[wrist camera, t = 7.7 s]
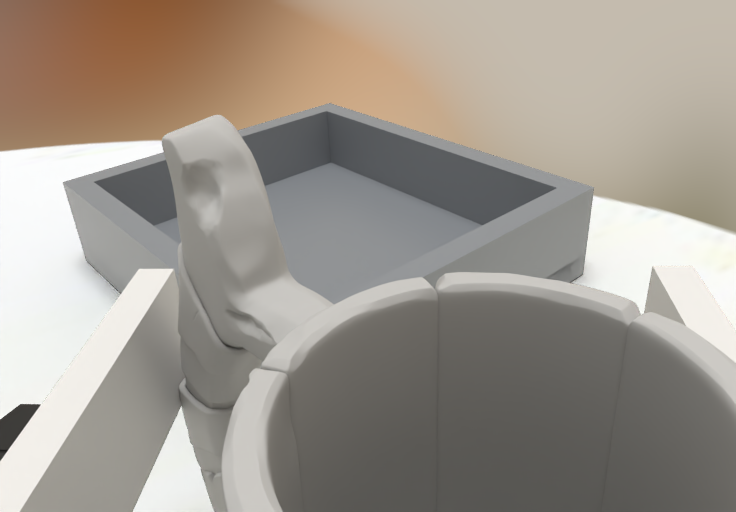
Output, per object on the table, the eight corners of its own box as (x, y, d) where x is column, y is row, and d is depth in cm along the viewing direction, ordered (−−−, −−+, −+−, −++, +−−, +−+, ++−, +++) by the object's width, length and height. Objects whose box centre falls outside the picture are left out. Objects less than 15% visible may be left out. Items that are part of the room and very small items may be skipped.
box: (86, 260, 32) (62, 182, 30) (335, 169, 40) (329, 103, 38) (293, 458, 20) (278, 353, 18) (582, 273, 29) (594, 187, 27)
